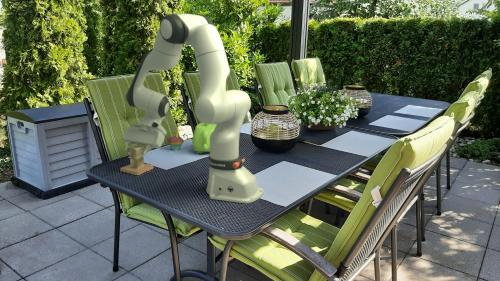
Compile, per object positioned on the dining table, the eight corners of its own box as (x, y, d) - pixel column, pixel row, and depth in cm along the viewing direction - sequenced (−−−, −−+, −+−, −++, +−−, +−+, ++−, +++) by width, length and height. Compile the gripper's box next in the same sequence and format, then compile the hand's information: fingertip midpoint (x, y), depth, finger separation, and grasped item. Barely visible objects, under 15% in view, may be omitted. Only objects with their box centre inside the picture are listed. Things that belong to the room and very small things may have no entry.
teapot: (232, 158, 186) (232, 127, 182) (189, 157, 187) (188, 126, 182) (235, 143, 210) (235, 116, 206) (197, 143, 211) (196, 115, 206)
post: (143, 166, 168) (142, 146, 165) (137, 168, 164) (136, 149, 162) (137, 164, 169) (135, 145, 167) (130, 167, 166) (129, 147, 164)
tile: (153, 170, 169) (153, 165, 169) (137, 177, 161) (137, 172, 160) (137, 166, 174) (137, 161, 173) (120, 173, 165) (120, 168, 165)
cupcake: (187, 148, 200) (186, 126, 197) (176, 152, 193) (175, 130, 190) (175, 146, 204) (174, 124, 201) (164, 150, 197) (162, 128, 194)
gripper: (127, 120, 172) (113, 146, 166) (163, 125, 163) (149, 152, 157) (135, 127, 177) (121, 152, 171) (170, 133, 168) (156, 159, 163)
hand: (135, 152), depth 164 cm, fingers open, 8 cm apart
